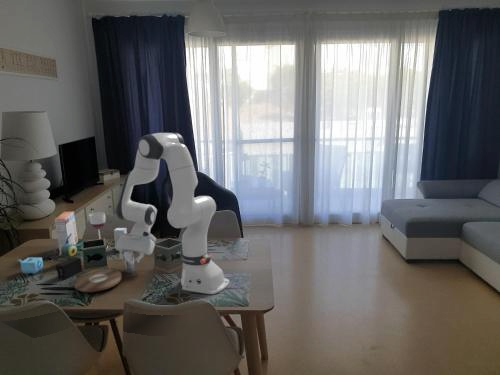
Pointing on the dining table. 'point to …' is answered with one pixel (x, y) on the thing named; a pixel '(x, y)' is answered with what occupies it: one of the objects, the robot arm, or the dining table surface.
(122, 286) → the dining table surface
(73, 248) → the decorative fish
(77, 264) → the digital camera
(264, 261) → the dining table surface
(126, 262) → the cast sleeve
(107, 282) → the turntable platter
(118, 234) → the skincare box
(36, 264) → the teapot
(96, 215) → the wineglass
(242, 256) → the dining table surface
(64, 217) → the cracker box
